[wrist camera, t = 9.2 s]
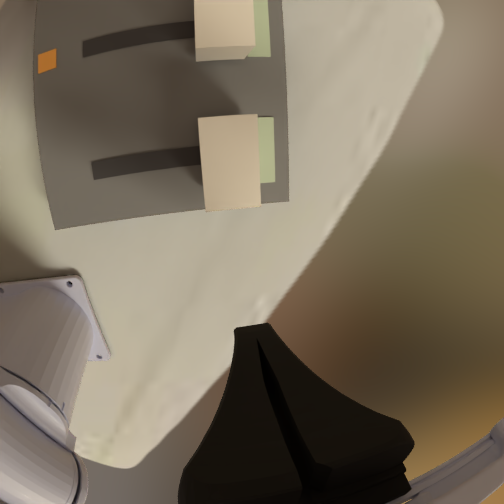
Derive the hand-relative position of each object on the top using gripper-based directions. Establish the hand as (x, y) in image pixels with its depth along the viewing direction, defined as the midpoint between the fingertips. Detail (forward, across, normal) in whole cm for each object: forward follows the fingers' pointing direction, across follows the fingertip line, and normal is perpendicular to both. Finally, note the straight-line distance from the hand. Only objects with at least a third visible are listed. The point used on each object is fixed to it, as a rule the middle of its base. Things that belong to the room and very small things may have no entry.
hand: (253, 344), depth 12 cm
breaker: (+7, 0, -6) cm, 9 cm away
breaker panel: (+9, +3, -13) cm, 17 cm away
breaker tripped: (+7, 0, -13) cm, 15 cm away
